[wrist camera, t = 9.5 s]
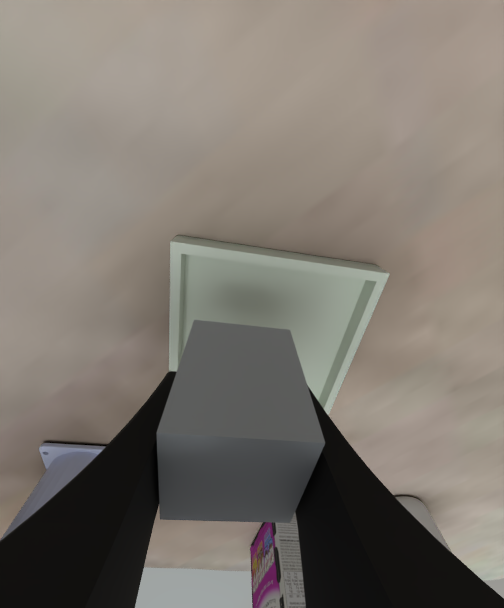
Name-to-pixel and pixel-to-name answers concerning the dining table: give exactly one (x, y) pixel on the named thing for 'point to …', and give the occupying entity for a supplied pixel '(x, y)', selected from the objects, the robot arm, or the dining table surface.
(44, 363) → the dining table surface
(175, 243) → the tray
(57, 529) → the robot arm
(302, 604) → the candy bar box
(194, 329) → the grey block
